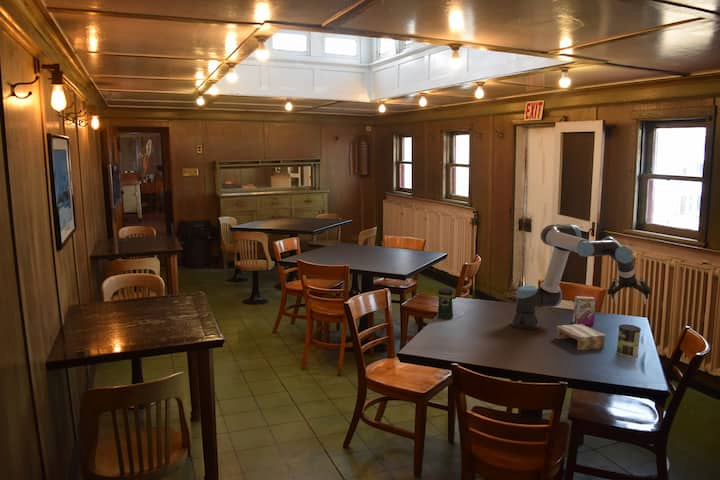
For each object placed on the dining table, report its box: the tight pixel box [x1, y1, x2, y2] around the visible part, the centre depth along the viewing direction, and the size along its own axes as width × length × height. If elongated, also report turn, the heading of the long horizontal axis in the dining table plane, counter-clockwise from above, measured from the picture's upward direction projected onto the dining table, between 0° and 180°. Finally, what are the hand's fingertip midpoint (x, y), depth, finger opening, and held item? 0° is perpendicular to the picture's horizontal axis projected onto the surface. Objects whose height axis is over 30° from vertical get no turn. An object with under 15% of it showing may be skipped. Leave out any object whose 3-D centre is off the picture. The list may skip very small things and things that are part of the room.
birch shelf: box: [556, 323, 606, 351], centre depth 314 cm, size 16×20×7 cm
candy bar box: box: [572, 295, 597, 326], centre depth 347 cm, size 11×5×16 cm, turn 84°
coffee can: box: [616, 323, 642, 358], centre depth 298 cm, size 10×10×14 cm
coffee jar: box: [436, 287, 455, 320], centre depth 355 cm, size 10×8×19 cm
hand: (630, 302), depth 296 cm, fingers open, 13 cm apart
